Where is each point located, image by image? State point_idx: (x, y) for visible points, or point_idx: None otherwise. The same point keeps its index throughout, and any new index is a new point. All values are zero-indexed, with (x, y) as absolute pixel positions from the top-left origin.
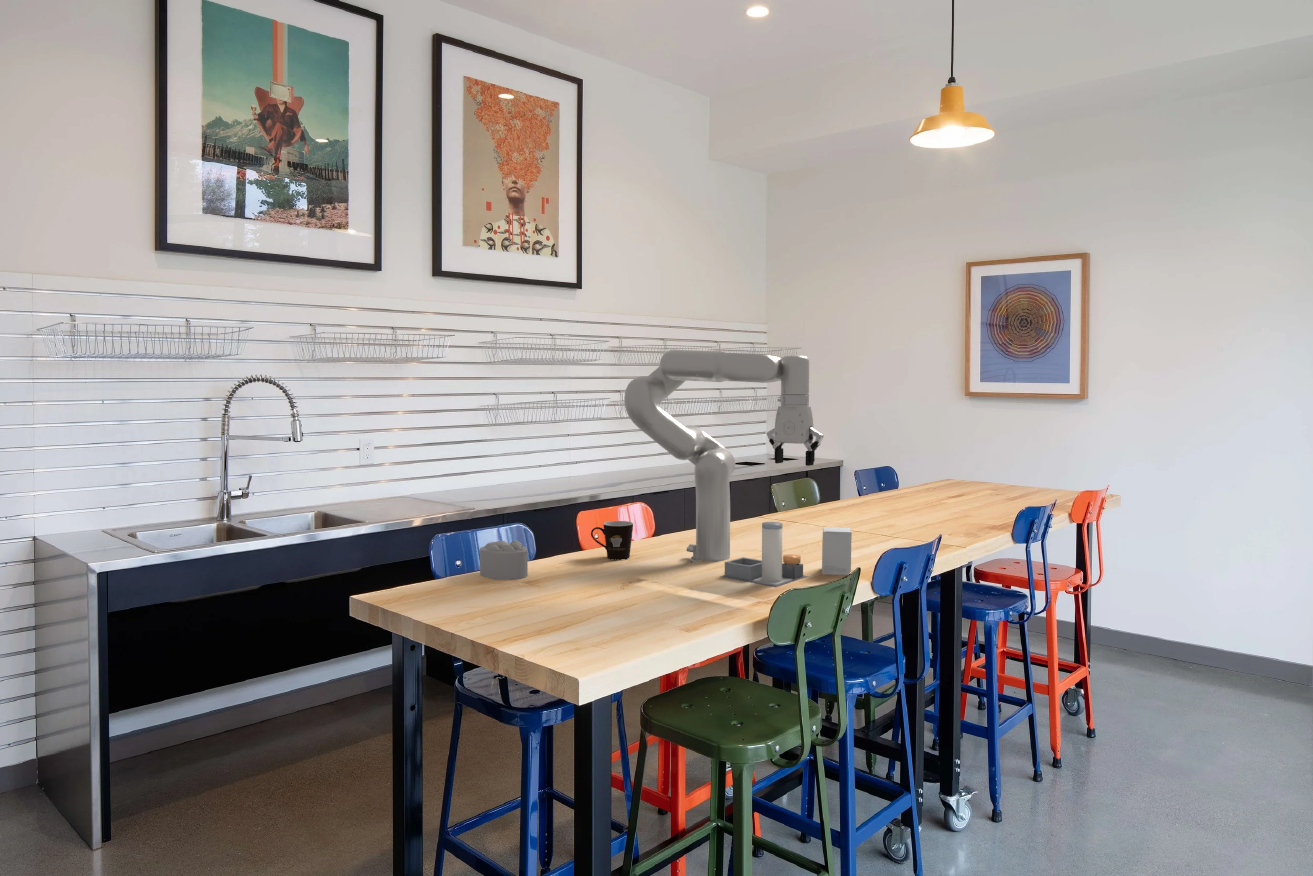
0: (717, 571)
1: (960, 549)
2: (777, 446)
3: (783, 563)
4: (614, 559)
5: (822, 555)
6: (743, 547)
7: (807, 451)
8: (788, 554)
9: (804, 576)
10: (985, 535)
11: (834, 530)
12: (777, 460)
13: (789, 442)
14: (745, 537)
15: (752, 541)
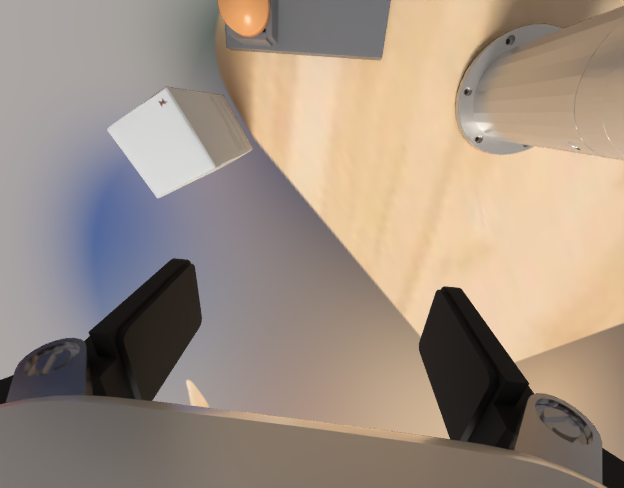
0: (466, 2)
1: (193, 404)
2: (517, 424)
3: (271, 4)
4: None
5: (206, 100)
6: (493, 274)
7: (94, 329)
8: (261, 20)
9: (232, 37)
10: None
11: (151, 121)
12: (444, 299)
13: (279, 420)
14: (518, 348)
15: (493, 326)
